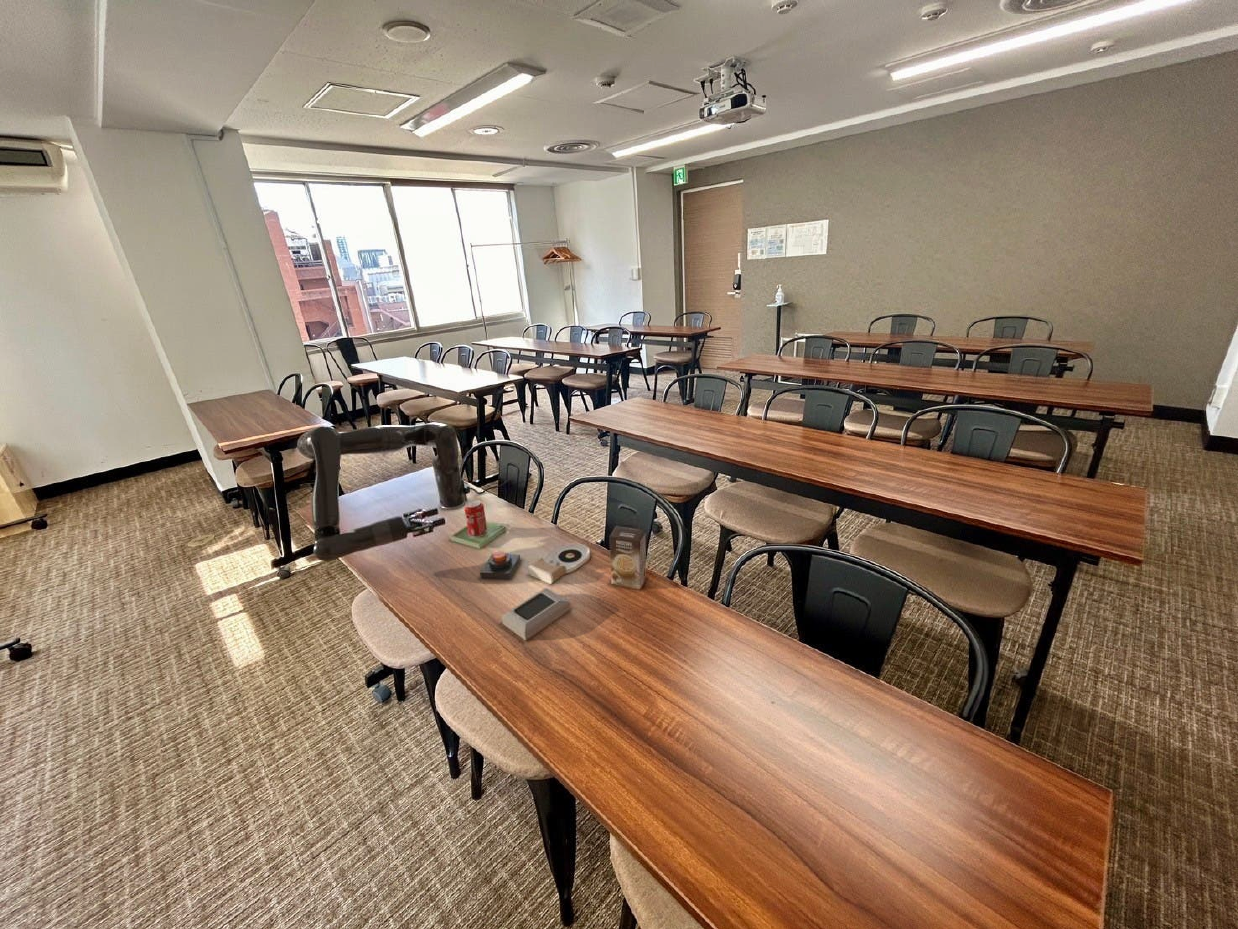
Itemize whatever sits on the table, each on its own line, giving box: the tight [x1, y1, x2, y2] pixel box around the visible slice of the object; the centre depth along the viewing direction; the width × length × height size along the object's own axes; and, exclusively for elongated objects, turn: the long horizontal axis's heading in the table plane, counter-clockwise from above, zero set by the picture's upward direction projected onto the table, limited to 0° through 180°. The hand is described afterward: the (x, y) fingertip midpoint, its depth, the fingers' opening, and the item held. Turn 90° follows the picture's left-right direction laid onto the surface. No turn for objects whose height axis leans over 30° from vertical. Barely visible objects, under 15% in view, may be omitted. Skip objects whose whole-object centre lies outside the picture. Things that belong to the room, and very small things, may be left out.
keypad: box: [501, 587, 571, 641], centre depth 125 cm, size 10×4×15 cm
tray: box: [449, 520, 507, 549], centre depth 166 cm, size 13×13×2 cm
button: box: [493, 551, 506, 562], centre depth 145 cm, size 4×4×2 cm
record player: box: [527, 542, 591, 585], centre depth 148 cm, size 12×3×20 cm
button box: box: [479, 552, 521, 581], centre depth 146 cm, size 10×9×4 cm
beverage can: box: [464, 499, 488, 538], centre depth 164 cm, size 6×6×12 cm
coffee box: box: [609, 525, 647, 590], centre depth 136 cm, size 9×6×16 cm
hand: (441, 515), depth 157 cm, fingers open, 8 cm apart
